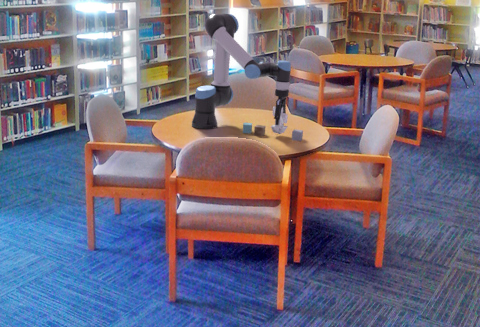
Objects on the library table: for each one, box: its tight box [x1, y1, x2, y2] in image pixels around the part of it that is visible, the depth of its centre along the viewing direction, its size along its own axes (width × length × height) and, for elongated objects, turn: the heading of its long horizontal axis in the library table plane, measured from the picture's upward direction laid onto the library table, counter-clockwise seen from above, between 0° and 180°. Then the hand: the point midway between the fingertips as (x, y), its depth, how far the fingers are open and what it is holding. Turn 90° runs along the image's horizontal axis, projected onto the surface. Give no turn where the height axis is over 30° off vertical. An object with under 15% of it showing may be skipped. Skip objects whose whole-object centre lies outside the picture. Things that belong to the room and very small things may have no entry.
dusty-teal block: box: [242, 122, 253, 134], centre depth 339 cm, size 5×5×5 cm
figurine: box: [270, 105, 289, 135], centre depth 331 cm, size 7×9×15 cm
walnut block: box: [253, 124, 266, 137], centre depth 335 cm, size 5×5×5 cm
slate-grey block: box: [291, 128, 304, 142], centre depth 328 cm, size 5×5×5 cm
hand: (278, 128), depth 333 cm, fingers closed on figurine, 8 cm apart
